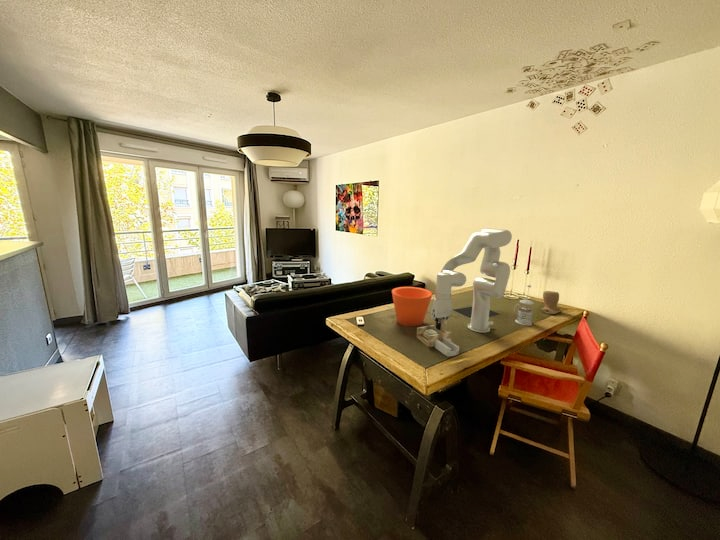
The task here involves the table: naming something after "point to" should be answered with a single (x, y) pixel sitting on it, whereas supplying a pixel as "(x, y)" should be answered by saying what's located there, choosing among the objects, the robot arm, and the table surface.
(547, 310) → the stone cup
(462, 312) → the tablet
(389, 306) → the table surface
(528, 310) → the french press
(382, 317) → the table surface
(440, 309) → the robot arm
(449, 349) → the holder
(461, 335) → the table surface
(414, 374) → the table surface
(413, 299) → the flowerpot
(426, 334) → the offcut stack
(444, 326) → the wooden board
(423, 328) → the rack
